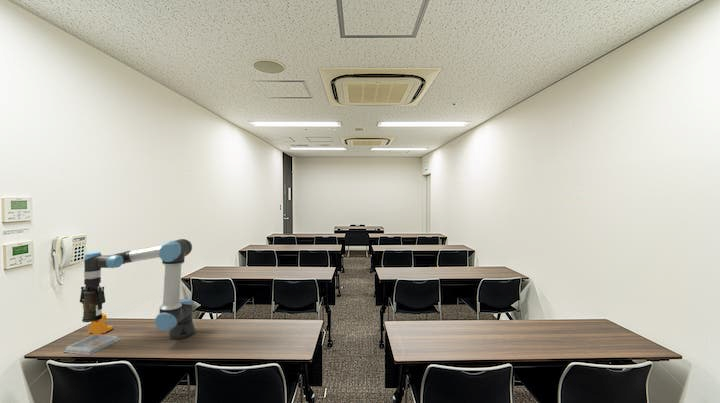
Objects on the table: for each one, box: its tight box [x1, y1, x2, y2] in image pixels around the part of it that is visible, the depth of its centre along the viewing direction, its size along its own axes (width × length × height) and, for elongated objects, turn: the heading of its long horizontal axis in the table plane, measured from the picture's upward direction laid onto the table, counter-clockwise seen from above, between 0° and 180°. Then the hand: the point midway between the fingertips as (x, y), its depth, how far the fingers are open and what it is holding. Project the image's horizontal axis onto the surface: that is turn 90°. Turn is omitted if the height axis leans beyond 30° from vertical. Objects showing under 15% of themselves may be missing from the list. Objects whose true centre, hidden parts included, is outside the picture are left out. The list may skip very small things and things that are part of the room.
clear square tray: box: [62, 334, 120, 356], centre depth 178 cm, size 18×18×3 cm
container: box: [81, 290, 103, 323], centre depth 178 cm, size 9×9×18 cm
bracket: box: [87, 313, 114, 335], centre depth 198 cm, size 11×7×12 cm, turn 92°
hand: (92, 314), depth 178 cm, fingers closed on container, 8 cm apart
